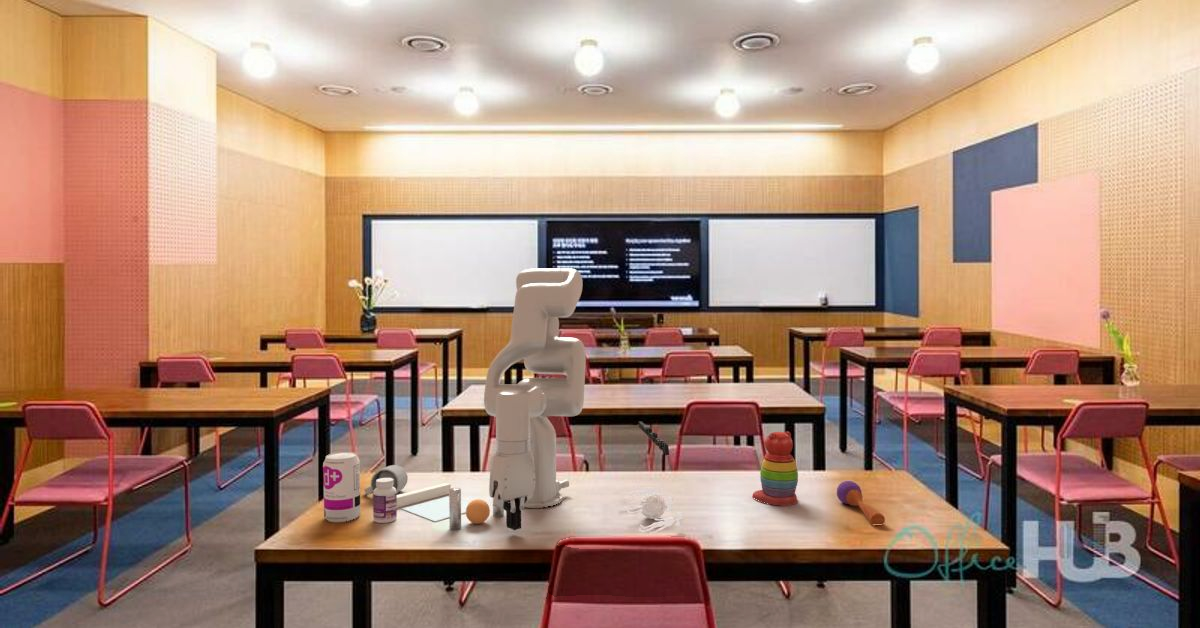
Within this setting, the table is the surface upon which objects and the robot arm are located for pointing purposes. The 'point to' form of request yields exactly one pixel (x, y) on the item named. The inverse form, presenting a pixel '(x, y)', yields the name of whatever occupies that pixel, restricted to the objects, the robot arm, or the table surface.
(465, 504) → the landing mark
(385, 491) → the pill bottle
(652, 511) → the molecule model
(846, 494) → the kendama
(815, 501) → the table surface
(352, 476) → the supplement can
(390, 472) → the ceramic mug
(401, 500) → the strip
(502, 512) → the post
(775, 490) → the stacking bear
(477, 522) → the ball
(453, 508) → the post
